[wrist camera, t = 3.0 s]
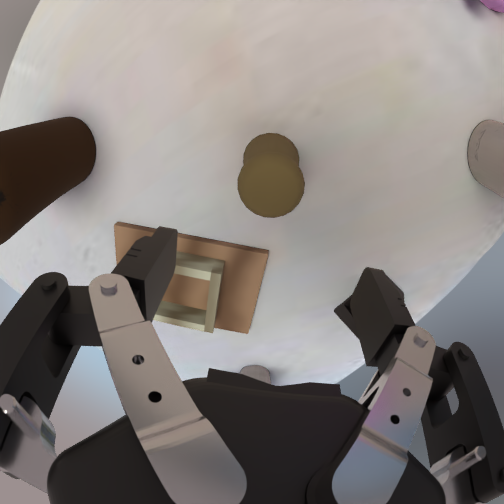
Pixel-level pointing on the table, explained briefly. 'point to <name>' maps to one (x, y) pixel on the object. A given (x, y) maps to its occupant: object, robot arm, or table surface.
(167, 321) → the socket board
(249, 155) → the cork
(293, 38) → the table surface
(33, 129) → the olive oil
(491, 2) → the teakettle
